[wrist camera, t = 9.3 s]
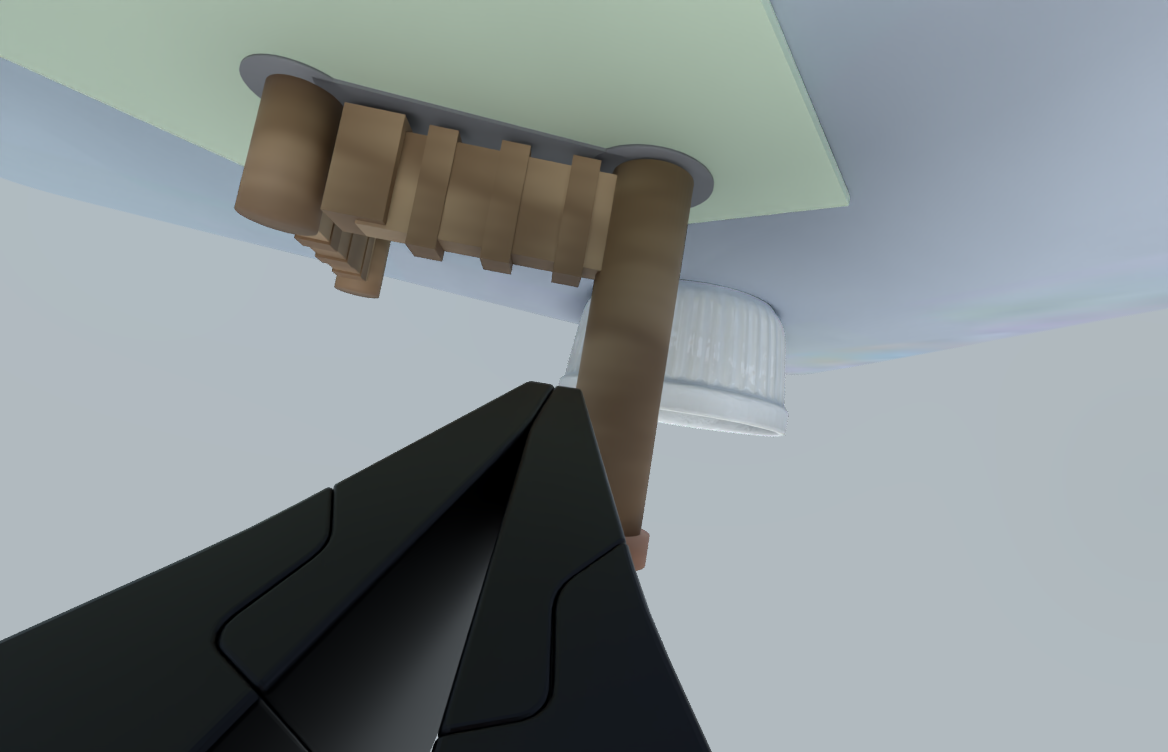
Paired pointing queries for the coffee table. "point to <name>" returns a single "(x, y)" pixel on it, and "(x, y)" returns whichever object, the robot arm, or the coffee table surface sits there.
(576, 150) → the card
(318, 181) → the fence fixed panel
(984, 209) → the coffee table surface
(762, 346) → the ramekin
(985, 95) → the coffee table surface
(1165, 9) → the coffee table surface
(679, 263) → the fence swing panel
